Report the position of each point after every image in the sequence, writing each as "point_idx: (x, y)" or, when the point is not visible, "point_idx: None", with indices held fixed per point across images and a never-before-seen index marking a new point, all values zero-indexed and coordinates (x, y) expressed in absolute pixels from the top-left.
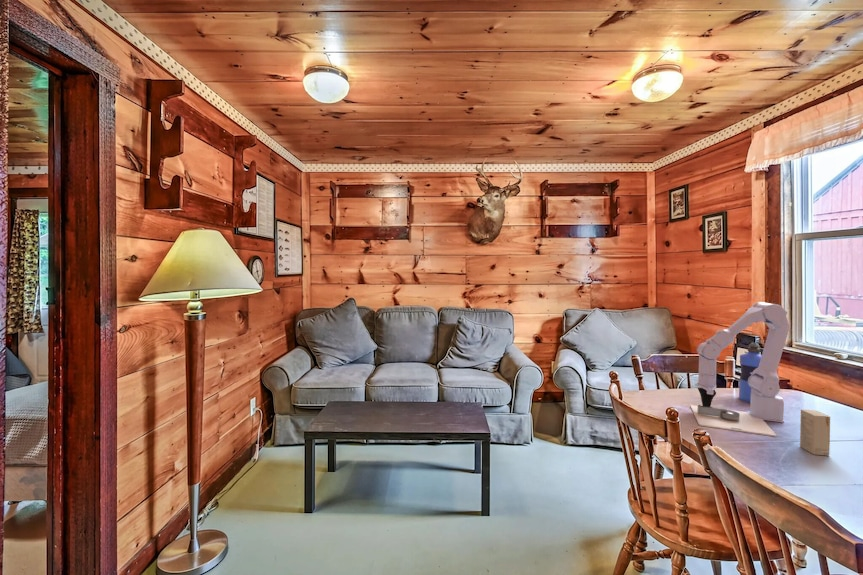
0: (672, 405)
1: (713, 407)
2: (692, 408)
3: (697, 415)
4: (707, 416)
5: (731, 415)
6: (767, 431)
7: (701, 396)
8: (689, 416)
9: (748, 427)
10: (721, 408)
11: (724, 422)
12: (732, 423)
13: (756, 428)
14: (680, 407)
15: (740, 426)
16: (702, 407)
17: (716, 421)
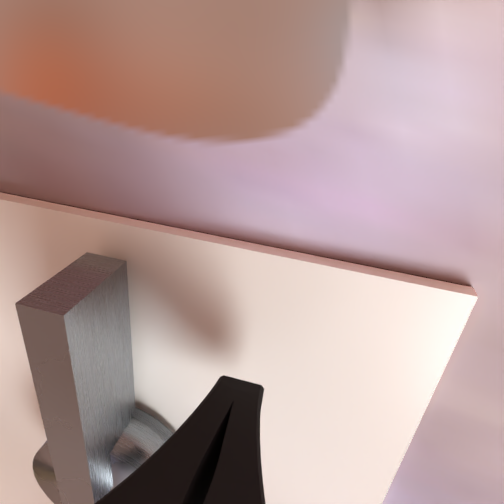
0: (490, 10)
1: (69, 439)
2: (323, 270)
3: (79, 235)
4: None
5: (34, 470)
6: (11, 501)
7: (102, 497)
8: (57, 147)
9: (14, 456)
10: (78, 486)
11: (21, 375)
12: (31, 413)
13: (23, 482)
14: (392, 131)
15: (2, 427)
16: (34, 338)
17: (9, 332)
